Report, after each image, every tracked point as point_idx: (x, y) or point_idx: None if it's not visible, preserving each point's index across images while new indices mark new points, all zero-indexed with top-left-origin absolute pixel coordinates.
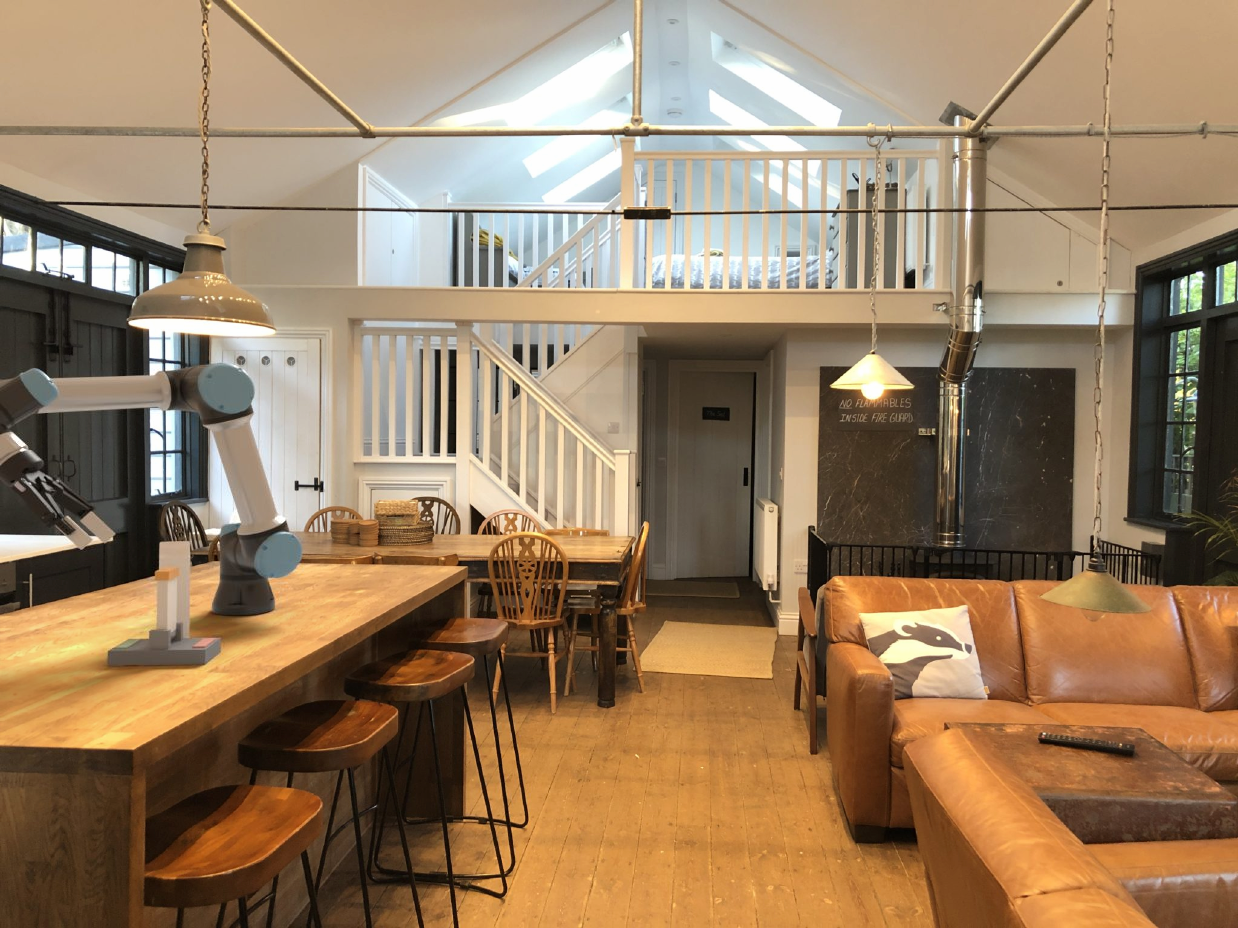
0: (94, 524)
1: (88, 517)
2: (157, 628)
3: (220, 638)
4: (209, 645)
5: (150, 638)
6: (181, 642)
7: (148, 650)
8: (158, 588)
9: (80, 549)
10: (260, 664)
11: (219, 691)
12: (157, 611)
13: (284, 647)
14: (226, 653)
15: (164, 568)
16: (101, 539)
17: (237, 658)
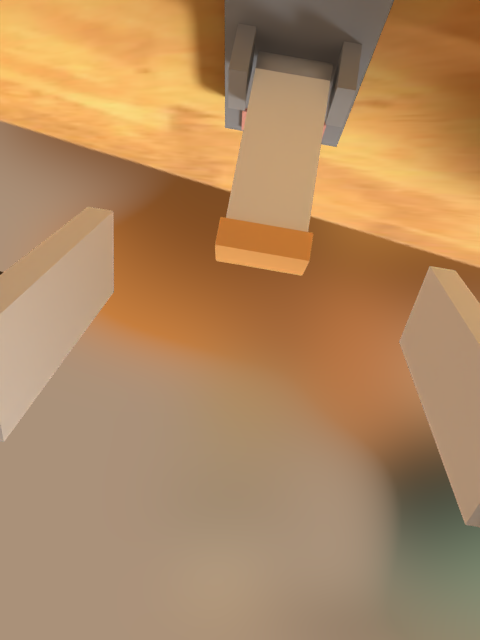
0: (455, 395)
1: (474, 463)
2: (252, 86)
3: (332, 145)
4: None
5: (232, 53)
6: None
7: (225, 23)
8: (231, 197)
9: (87, 207)
10: (224, 164)
11: (61, 123)
12: (243, 130)
13: (341, 191)
14: None
15: (280, 258)
16: (437, 286)
17: None
